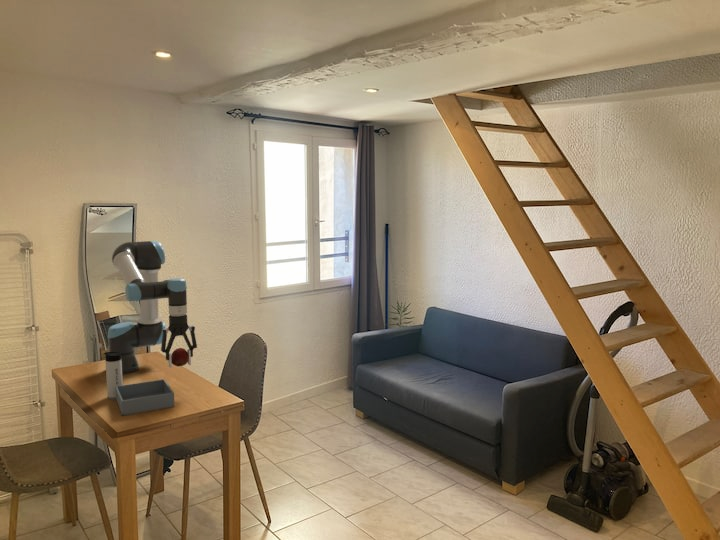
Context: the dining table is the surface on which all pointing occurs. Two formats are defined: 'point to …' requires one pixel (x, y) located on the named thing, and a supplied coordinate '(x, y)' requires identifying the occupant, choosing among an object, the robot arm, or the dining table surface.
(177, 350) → the apple
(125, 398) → the tub
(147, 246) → the robot arm
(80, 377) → the dining table surface
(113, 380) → the travel mug
